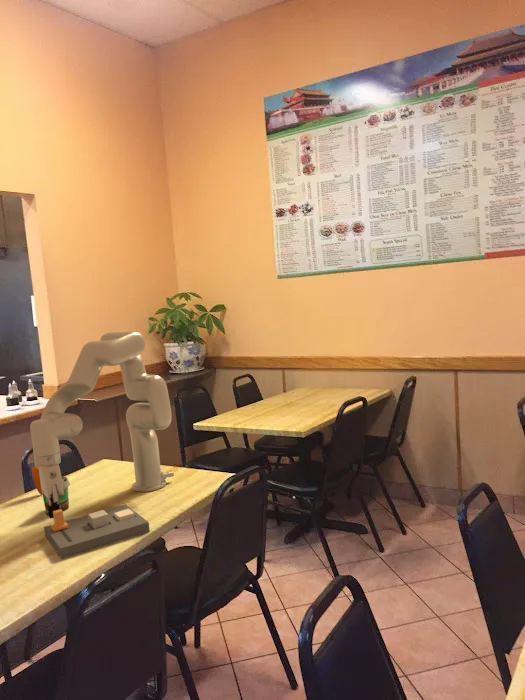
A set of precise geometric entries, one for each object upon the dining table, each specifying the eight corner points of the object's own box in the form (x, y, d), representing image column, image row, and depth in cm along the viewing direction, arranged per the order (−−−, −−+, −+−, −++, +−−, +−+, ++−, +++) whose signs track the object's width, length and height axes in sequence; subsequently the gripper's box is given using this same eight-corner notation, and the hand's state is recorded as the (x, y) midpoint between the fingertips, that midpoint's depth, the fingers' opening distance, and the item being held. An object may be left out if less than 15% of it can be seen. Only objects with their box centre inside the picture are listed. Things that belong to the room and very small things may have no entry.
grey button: (104, 522, 182) (103, 509, 182) (109, 526, 178) (108, 514, 178) (89, 526, 180) (87, 514, 179) (94, 531, 176) (92, 518, 175)
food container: (60, 516, 196) (57, 487, 195) (43, 516, 197) (40, 487, 196) (79, 502, 208) (75, 475, 207) (63, 502, 209) (60, 475, 208)
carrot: (36, 493, 222) (32, 454, 220) (50, 491, 222) (45, 453, 221) (32, 497, 217) (27, 458, 216) (46, 496, 218) (41, 457, 216)
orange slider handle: (65, 523, 180) (63, 507, 180) (68, 527, 177) (66, 510, 177) (50, 527, 178) (48, 511, 177) (53, 531, 175) (51, 514, 174)
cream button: (130, 520, 187) (128, 508, 186) (135, 525, 183) (134, 512, 182) (115, 525, 184) (114, 512, 184) (120, 529, 180) (119, 517, 180)
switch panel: (126, 513, 194) (125, 504, 194) (149, 531, 177) (148, 521, 177) (45, 536, 180) (44, 526, 180) (61, 558, 163) (60, 548, 163)
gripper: (66, 461, 176) (73, 520, 178) (54, 451, 188) (61, 506, 190) (40, 467, 172) (47, 527, 174) (29, 457, 184) (36, 513, 186)
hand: (54, 516), depth 182 cm, fingers closed
